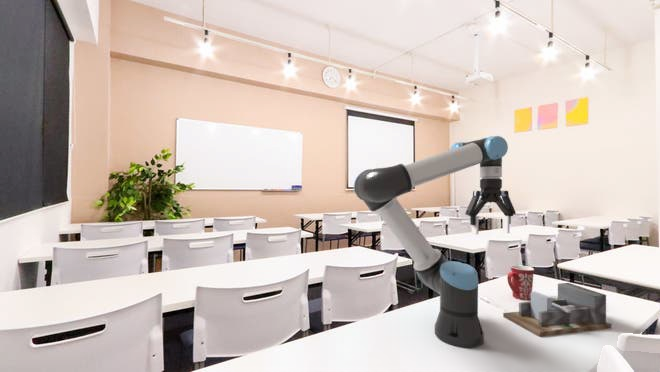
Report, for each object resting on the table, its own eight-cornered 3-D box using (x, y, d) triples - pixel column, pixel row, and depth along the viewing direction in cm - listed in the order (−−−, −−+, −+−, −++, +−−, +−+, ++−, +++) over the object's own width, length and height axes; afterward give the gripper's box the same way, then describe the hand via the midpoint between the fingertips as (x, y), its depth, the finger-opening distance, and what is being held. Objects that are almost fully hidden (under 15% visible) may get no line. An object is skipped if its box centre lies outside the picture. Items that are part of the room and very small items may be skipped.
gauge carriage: (556, 328, 105) (556, 302, 105) (530, 315, 116) (530, 291, 116) (577, 326, 107) (577, 300, 107) (549, 314, 118) (549, 290, 118)
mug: (520, 293, 145) (520, 264, 145) (539, 299, 136) (539, 269, 136) (499, 296, 141) (499, 266, 141) (516, 303, 133) (517, 271, 133)
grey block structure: (539, 336, 103) (539, 302, 103) (503, 316, 119) (503, 286, 119) (611, 328, 109) (611, 295, 109) (567, 310, 125) (567, 281, 125)
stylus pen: (476, 297, 139) (477, 293, 139) (481, 297, 139) (482, 293, 139) (503, 312, 124) (503, 308, 124) (508, 312, 125) (509, 307, 125)
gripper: (468, 177, 113) (468, 235, 113) (526, 178, 119) (526, 233, 119) (455, 178, 121) (455, 232, 121) (511, 178, 126) (510, 230, 126)
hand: (490, 233), depth 120 cm, fingers open, 13 cm apart
